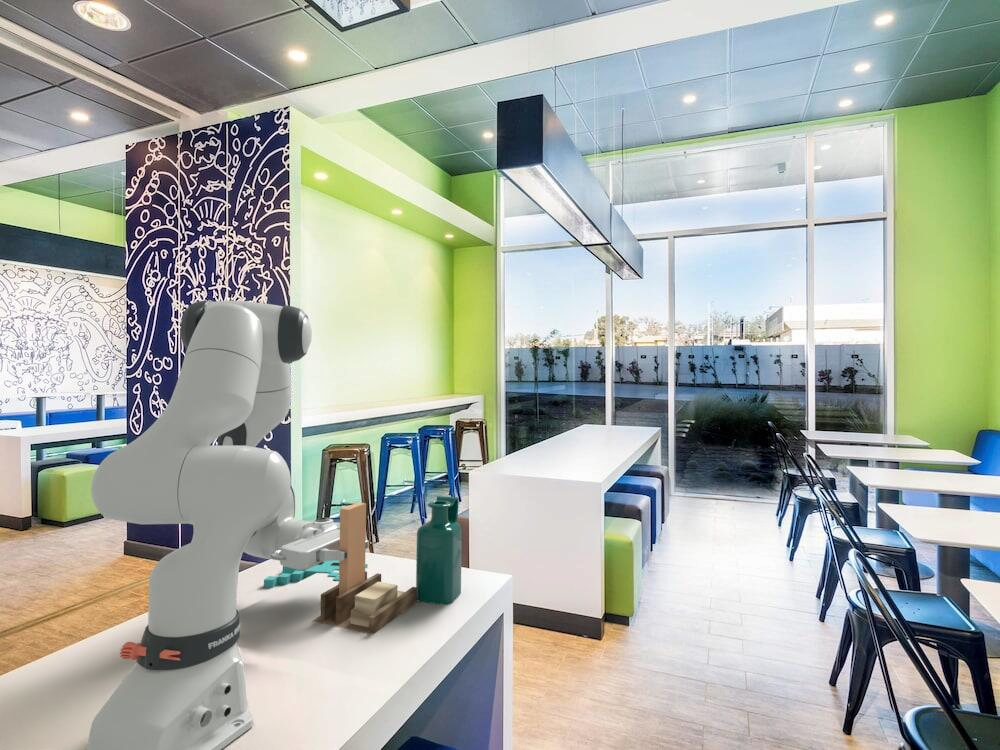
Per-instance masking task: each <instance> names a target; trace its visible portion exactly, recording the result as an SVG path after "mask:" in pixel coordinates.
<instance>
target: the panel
mask: <svg viewBox="0 0 1000 750" xmlns="http://www.w3.org/2000/svg"><path fill="white" fill-rule="evenodd" d="M339 522H340V549H342V550H346V551H347V558H346V559H345V560H343V561H339V570H338V573H339V575H338V576H339V581H338V583H339V595H341V594H342V593H344V592H346V591H348V590H349V589H351V588H353V587H355V586H356V585H358V584H360V583H361V582H363V581H365V571H366V568H365V564H366V550H367V549H366V540H367V536H366V535H367V503H366V502H365V503H364V502H356V503H353V504H350V505H346V506H344V507H340V508H339Z"/></svg>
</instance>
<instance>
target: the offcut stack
mask: <svg viewBox="0 0 1000 750" xmlns="http://www.w3.org/2000/svg"><path fill="white" fill-rule="evenodd" d="M404 592H405V591H402V590H398V584H394V583H387V582H382V581H381V582H377V583H375V584H374V585H372V586H370V587H369V588H367V589H365V590H364V591H362V592H360V593H359V594H357V595H355V608H354V609H352V610H351V624H355V625H360V626H365V627H369V617H370V616H371V615H372V614H374V613H375V612H377V611H378V610H380V609H381V608H383V607H384V606H386V605H387V604H388V603H390V602H391V601H393V600H394V599H396V598H397V597H399V596H400V595H402V594H403V593H404Z"/></svg>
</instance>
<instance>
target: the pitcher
mask: <svg viewBox="0 0 1000 750" xmlns="http://www.w3.org/2000/svg"><path fill="white" fill-rule="evenodd" d="M459 500H460V499H459V497H458V496H457V497H455V496H444V495H437V496H436V500H433V501H429V502H428V503H427V507H429V509H430V508H431V517H430V520H428V521H427V522H424V523H423V524H422V525H420V526H419V527H418V529H417V531H416V557H415V559H416V564H415V565H416V566H415V567H416V570H415V574H416V575H415V587H417V602H419V603H420V602H421V603H427V604H433V605H434V604H435V605H444V606H445V605H450V604H453V603H454V602H455V601H456V600H457V598H459V596H461V594H462V548H463V547H462V545H463V544H462V541H463V540H462V539H463V538H462V537H463V536H462V533H463V531H462V530H463V529H462V526H461V524H460V523H459V522H457V521H458V517H459V505H460V504H459V502H460V501H459Z"/></svg>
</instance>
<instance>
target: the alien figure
mask: <svg viewBox="0 0 1000 750" xmlns="http://www.w3.org/2000/svg"><path fill="white" fill-rule="evenodd" d="M365 569H369V568H368V563H365ZM335 571H339V561H337V560H334V561H324V562H322V563H320V564H317V565H315V566H313V567H311V568H309V569H306V570H297V569H292V568H289V567H285V566H283V565H282V573H281V574H280V575H278V576H274V575H273V576H272V575H269V576H267V577H265V578H264V580H263V588H272V589H273V588H275V587H276V586H277V585H285V584H286V585H288V584H290V583H291V582H301V581H303V580H304V579H307V578H310V577H312V576H314V575H316V574H319V573H320V574H328V575H327V577H328V578H329V577H330V578H333V579H332V581H335V582H336V581H337V582H338V584H337V585H339V572H335Z"/></svg>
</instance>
